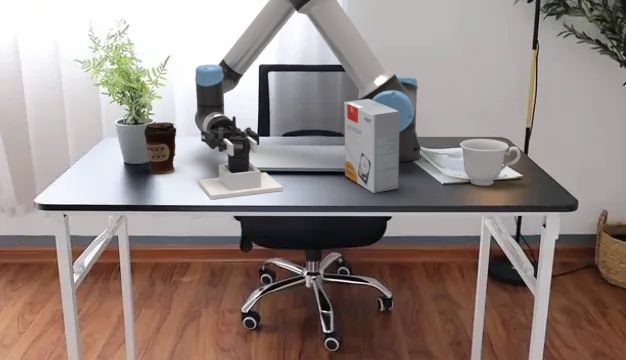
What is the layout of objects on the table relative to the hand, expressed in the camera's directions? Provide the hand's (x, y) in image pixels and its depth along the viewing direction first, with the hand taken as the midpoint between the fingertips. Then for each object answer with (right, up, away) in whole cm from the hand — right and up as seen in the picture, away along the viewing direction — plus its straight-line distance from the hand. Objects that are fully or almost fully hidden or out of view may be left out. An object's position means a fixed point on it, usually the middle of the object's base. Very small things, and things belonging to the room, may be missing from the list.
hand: (243, 149), depth 177 cm
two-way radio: (-2, -6, +7) cm, 10 cm away
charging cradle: (-2, -9, +8) cm, 12 cm away
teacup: (+61, -8, +10) cm, 62 cm away
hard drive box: (+31, -8, +10) cm, 34 cm away
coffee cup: (-24, -5, +22) cm, 33 cm away
